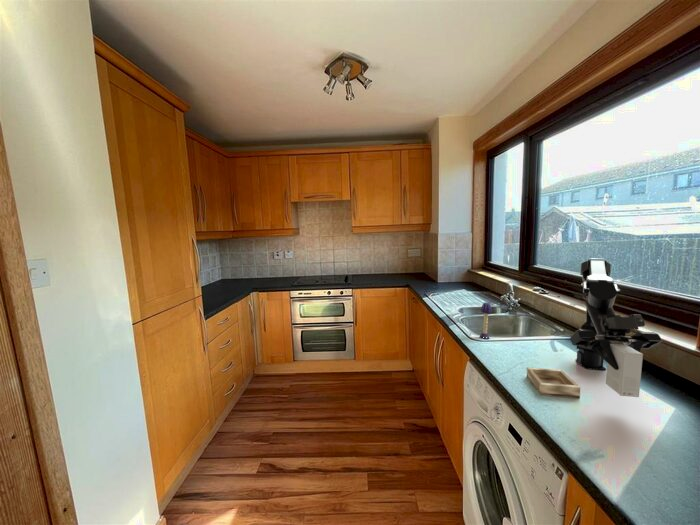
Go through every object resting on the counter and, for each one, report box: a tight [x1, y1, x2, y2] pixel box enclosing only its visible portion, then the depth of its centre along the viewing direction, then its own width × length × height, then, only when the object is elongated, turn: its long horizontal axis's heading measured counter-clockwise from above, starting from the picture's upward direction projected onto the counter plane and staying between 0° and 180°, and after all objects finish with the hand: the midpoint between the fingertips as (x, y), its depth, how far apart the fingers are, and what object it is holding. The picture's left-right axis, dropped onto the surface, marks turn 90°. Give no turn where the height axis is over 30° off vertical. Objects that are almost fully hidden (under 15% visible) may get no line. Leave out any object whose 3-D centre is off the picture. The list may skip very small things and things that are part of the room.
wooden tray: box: [526, 367, 581, 399], centre depth 88 cm, size 10×10×4 cm
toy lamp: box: [479, 302, 493, 339], centre depth 127 cm, size 5×5×17 cm
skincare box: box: [605, 343, 644, 398], centre depth 73 cm, size 6×4×12 cm
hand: (627, 370), depth 72 cm, fingers closed on skincare box, 4 cm apart
